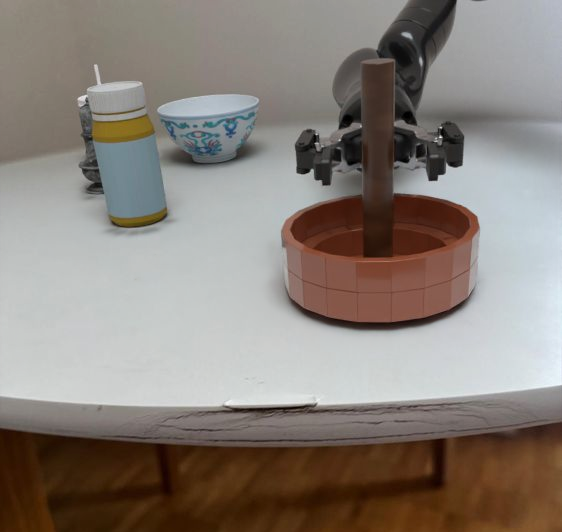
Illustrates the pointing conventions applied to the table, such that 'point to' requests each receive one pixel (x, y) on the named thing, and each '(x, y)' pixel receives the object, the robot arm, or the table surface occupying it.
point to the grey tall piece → (89, 151)
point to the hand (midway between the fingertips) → (379, 171)
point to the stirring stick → (378, 155)
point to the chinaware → (210, 124)
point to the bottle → (127, 154)
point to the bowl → (381, 259)
